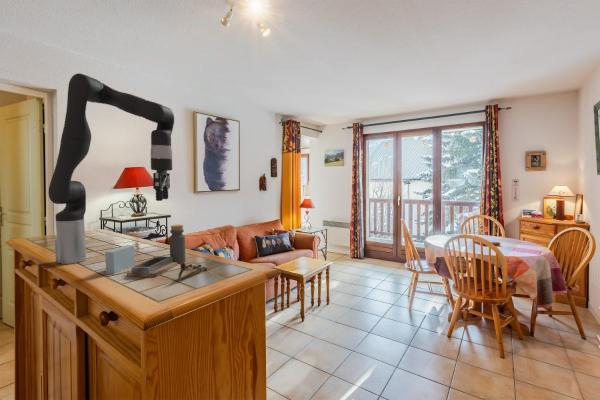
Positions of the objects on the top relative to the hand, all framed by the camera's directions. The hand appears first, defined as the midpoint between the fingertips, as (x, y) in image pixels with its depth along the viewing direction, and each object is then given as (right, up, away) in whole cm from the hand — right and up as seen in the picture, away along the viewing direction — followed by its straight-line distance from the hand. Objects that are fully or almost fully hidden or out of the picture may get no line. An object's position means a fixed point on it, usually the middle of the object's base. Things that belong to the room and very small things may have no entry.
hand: (162, 199), depth 116 cm
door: (-14, -26, -4) cm, 30 cm away
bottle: (+4, -26, +6) cm, 27 cm away
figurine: (+16, -27, -11) cm, 33 cm away
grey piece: (-1, -26, -5) cm, 27 cm away
